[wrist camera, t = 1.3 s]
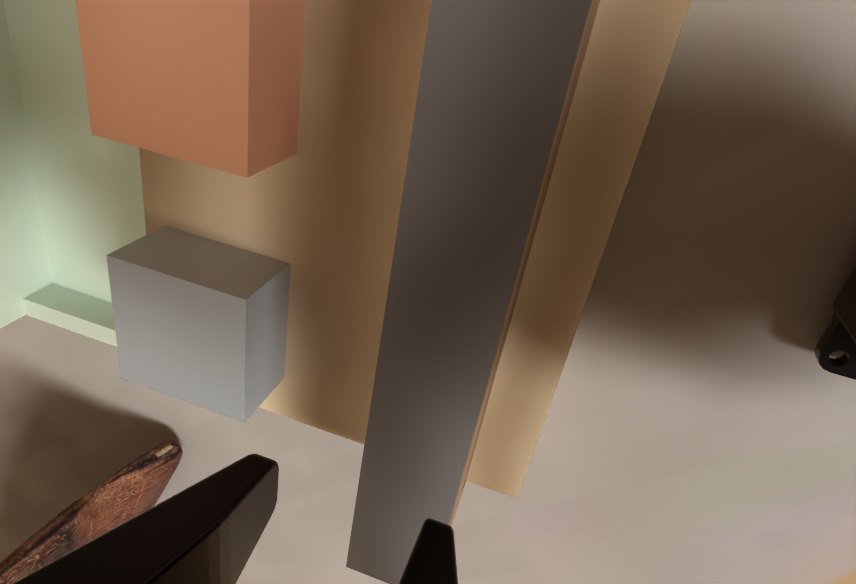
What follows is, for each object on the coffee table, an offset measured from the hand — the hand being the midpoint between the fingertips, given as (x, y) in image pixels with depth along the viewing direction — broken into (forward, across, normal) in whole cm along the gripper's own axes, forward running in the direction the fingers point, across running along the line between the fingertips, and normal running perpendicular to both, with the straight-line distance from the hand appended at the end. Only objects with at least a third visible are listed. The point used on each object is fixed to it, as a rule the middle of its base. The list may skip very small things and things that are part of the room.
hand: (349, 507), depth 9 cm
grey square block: (+9, +8, +4) cm, 13 cm away
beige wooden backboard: (+12, +4, 0) cm, 13 cm away
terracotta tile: (+9, +8, -4) cm, 13 cm away
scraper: (+9, 0, 0) cm, 9 cm away
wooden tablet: (+12, +18, +26) cm, 34 cm away
